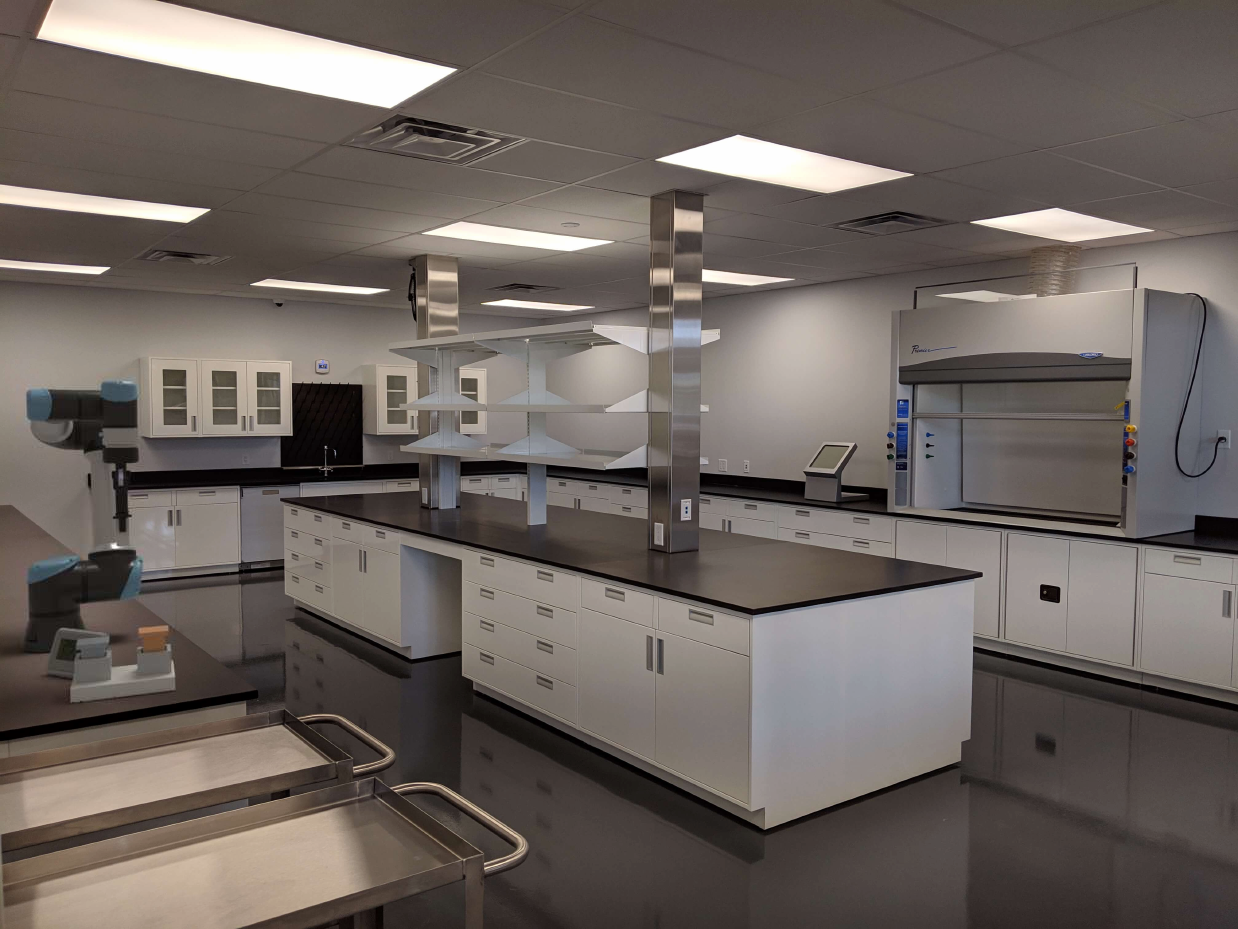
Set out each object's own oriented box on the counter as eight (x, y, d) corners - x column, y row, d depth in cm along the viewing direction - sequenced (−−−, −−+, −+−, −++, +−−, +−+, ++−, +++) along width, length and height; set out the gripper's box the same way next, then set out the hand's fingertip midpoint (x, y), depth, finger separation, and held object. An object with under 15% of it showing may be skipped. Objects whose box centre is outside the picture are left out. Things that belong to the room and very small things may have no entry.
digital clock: (42, 675, 212) (41, 630, 211) (82, 666, 219) (80, 623, 219) (78, 686, 203) (76, 640, 202) (118, 676, 211) (117, 632, 210)
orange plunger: (139, 662, 206) (138, 628, 206) (168, 659, 209) (168, 625, 208) (139, 668, 201) (138, 633, 200) (169, 665, 204) (168, 630, 203)
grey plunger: (78, 674, 200) (78, 639, 200) (109, 671, 203) (108, 636, 203) (77, 681, 195) (76, 645, 195) (108, 678, 198) (107, 642, 198)
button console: (75, 684, 204) (74, 649, 204) (173, 673, 214) (172, 639, 213) (70, 703, 191) (69, 666, 191) (175, 690, 200) (174, 654, 200)
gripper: (103, 445, 216) (105, 543, 217) (101, 447, 204) (103, 550, 205) (138, 445, 219) (141, 541, 221) (138, 447, 208) (140, 548, 209)
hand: (123, 545), depth 213 cm, fingers closed
